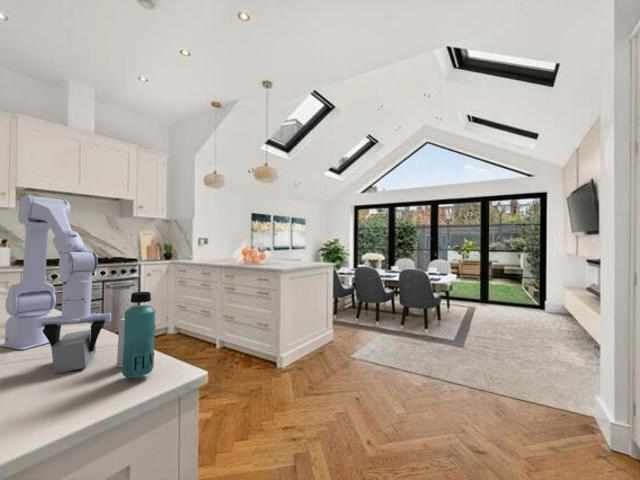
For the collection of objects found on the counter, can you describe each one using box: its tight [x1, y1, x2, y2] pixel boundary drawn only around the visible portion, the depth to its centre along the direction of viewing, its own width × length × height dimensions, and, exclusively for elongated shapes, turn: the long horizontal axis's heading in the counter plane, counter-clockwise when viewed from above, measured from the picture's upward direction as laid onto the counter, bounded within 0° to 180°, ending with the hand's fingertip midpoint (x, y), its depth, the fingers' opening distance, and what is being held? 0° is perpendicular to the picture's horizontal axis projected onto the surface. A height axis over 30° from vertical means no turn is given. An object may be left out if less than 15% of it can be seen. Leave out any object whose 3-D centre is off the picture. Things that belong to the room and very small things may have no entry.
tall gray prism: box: [50, 329, 97, 375], centre depth 76 cm, size 10×6×6 cm, turn 25°
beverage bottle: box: [121, 291, 157, 378], centre depth 70 cm, size 6×7×20 cm
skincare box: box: [116, 317, 125, 368], centre depth 78 cm, size 6×4×12 cm
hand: (74, 352), depth 76 cm, fingers closed on tall gray prism, 6 cm apart
